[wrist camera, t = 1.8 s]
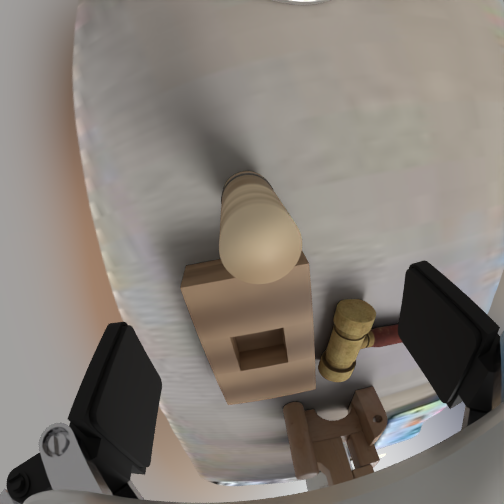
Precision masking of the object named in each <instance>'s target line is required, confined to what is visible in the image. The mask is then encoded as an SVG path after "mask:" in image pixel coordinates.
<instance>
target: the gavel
mask: <svg viewBox="0 0 504 504" xmlns="http://www.w3.org/2000/svg"><path fill="white" fill-rule="evenodd" d="M375 317H376V312H375V310H374V308H373V307H372V306H371V305H370V304H368V303H367V302H365V301H363V300H359V299H345V300H342V301H340V302H339V303H338V304H337V308H336V311H335V315H334V319H333V320H334V327H333V330H332V334H331V337H330V340H329V343H328V346H327V349H326V351H324V352H323V354H322V356H321V359H320V362H319V365H318V369H319V372H320V374H321V375H322V376H323V377H324V378H325V379H327V380H329V381H333V382H343V381H345V380H347V379H348V378H349V377H350V376H351V374H352V372H353V370H354V368H355V365H356V357H357V355H358V353H359V350H360V349H363V348H368V347H382V346H387V345H392V344H397V343H401V342H402V341H401V339H400V338H399V335H398V324H396V325H390V326H384V327H378V328H374V329H372V330H371V328H372V325H373V322H374V320H375Z"/></svg>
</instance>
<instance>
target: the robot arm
mask: <svg viewBox="0 0 504 504" xmlns="http://www.w3.org/2000/svg"><path fill="white" fill-rule="evenodd" d="M273 1H276V2H280V3H287V4H296V5H310V4H320V3H324V2H328V1H331V0H273ZM499 328H500V327H499V326H498V325H497V324H496V323H495V322H494V321H493V320H492V319H491V318H490V317H489V316H488V315H487V314H486V313H485V312H484V311H483V310H482V309H481V308H480V307H479V306H478V305H476V304H475V303H474V302H473V301H472V300H471V299H470V298H469V297H468V296H467V295H466V294H465V293H463V292H462V291H461V290H460V289H459V288H458V287H457V286H456V285H454V284H453V283H452V282H451V281H450V280H449V279H448V278H446V277H445V276H444V275H443V274H442V273H441V272H439V271H438V270H437V269H436V268H435V267H433V266H432V265H431V264H430V263H428V262H427V261H421V262H417V263H414V264H411V265H410V267H409V269H408V270H407V271H406V275H405V283H404V291H403V299H402V306H401V312H400V318H399V324H398V335H399V338H400V339H401V341H402V342H403V344H404V345H405V346H406V348H407V349H408V351H409V352H410V354H411V355H412V357H413V358H414V360H415V361H416V363H417V364H418V366H419V367H420V369H421V370H422V372H423V373H424V375H425V376H426V378H427V379H428V381H429V382H430V384H431V386H432V387H433V389H434V390H435V392H436V394H437V395H438V397H439V398H440V400H441V401H442V402H443V403H447V405H448V407H449V408H450V409H451V408H452V407H454V406H456V405H458V404H459V403H461V402H462V401H463V402H464V403H465V405H466V406H465V412H464V418H463V423H462V429H461V431H459V432H458V433H456V434H454V435H453V436H451V437H449V438H448V439H446V440H444V441H442V442H440V443H439V444H437V445H435V446H433V447H431V448H429V449H427V450H425V451H423V452H421V453H419V454H417V455H415V456H412V457H410V458H408V459H406V460H403V461H401V462H399V463H396V464H394V465H392V466H389V467H387V468H384V469H382V470H379V471H376V472H373V473H371V474H368V475H365V476H362V477H359V478H356V479H353V480H350V481H346V482H343V483H340V484H336V485H332V486H329V487H325V488H321V489H317V490H312V491H308V492H303V493H298V494H293V495H287V496H281V497H275V498H268V499H260V500H251V501H239V502H224V503H178V502H162V501H150V500H144V498H143V497H142V496H141V494H140V493H139V492H138V490H137V489H136V487H135V486H134V485H133V483H132V482H131V480H130V476H131V473H135V474H145V472H146V467H149V465H150V462H151V454H152V446H153V440H154V433H155V426H156V419H157V413H158V407H159V401H160V395H161V389H162V382H161V378H160V376H159V375H158V373H157V371H156V369H155V368H154V366H153V364H152V363H151V361H150V359H149V357H148V355H147V354H146V352H145V350H144V348H143V346H142V344H141V343H140V341H139V339H138V337H137V335H136V333H135V331H134V329H133V328H132V326H130V325H127V323H125V322H118V323H110V324H109V325H108V326H107V328H106V330H105V332H104V334H103V336H102V338H101V340H100V343H99V345H98V347H97V349H96V351H95V353H94V355H93V358H92V360H91V362H90V364H89V367H88V369H87V371H86V374H85V376H84V379H83V381H82V383H81V386H80V388H79V391H78V393H77V396H76V398H75V400H74V403H73V406H72V408H71V411H70V414H69V417H68V419H69V421H70V425H69V426H68V425H66V424H64V423H55V424H53V425H50V426H49V427H48V428H46V429H45V431H44V432H43V433H42V435H41V437H40V440H39V451H40V453H38V454H36V455H35V456H33V457H32V458H30V459H29V460H27V461H26V462H24V463H23V464H21V465H19V466H18V467H16V468H14V469H13V470H12V471H11V472H10V474H9V475H8V478H7V490H8V491H7V490H6V489H4V490H3V491H2V493H1V494H0V504H504V331H503V332H502V334H501V336H499V335H498V334H497V333H498V330H499Z"/></svg>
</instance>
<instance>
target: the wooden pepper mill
mask: <svg viewBox="0 0 504 504" xmlns="http://www.w3.org/2000/svg"><path fill="white" fill-rule="evenodd" d="M221 204H222V207H221V222H220V237H219V254H220V258H221V261H222V263H223V265H224V267H225V268H226V270H227V271H228V272H229V273H230V274H231V275H233V276H234V277H235V278H237V279H239V280H241V281H243V282H246V283H251V284H266V283H271V282H274V281H277V280H279V279H281V278H282V277H284V276H285V275H287V274H288V273H289V272H290V271H291V270H292V269H293V268H294V266H295V265H296V264H297V262H298V260H299V257H300V255H301V251H302V238H301V234H300V231H299V229H298V227H297V225H296V224H295V222H294V221H293V219H292V218H291V216H290V215H289V213H288V212H287V210H286V209H285V207H284V206H283V204H282V203H281V201H280V200H279V198H278V197H277V195H276V194H275V192H274V191H273V188H272V187H271V185H270V184H269V182H268V181H267V180H266V179H265V178H264V177H262V176H261V175H260V174H258V173H255V172H251V171H243V172H239V173H236V174H235V175H233V176H232V177H230V178H229V179H228V181H227V182H226V184H225V186H224V188H223V191H222V197H221Z"/></svg>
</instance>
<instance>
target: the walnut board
mask: <svg viewBox="0 0 504 504" xmlns="http://www.w3.org/2000/svg"><path fill="white" fill-rule="evenodd" d="M180 289H181V291H182V294H183V297H184V300H185V302H186V305H187V308H188V311H189V313H190V316H191V319H192V321H193V324H194V326H195V329H196V331H197V334H198V337H199V339H200V342H201V344H202V346H203V349H204V351H205V354H206V356H207V359H208V361H209V363H210V366H211V368H212V370H213V373H214V375H215V377H216V380H217V382H218V384H219V386H220V389H221V391H222V393H223V395H224V397H225V400H226V402H227V404H228V405H232V404H240V403H247V402H253V401H260V400H266V399H271V398H277V397H282V396H287V395H292V394H296V393H301V392H305V391H310V390H314V389H316V378H315V349H314V328H313V310H312V295H311V282H310V269H309V262H308V261H307V259H306V257H305V255H304V253H303V252H302V251H301V255H300V257H299V260H298V262H297V264H296V265H295V266H294V268H293V269H292V270H291V271H290V272H289V273H288V274H287V275H285V276H284V277H282V278H281V279H279V280H277V281H274V282H271V283H266V284H251V283H246V282H243V281H241V280H239V279H237V278H235V277H234V276H233V275H231V274H230V273H229V272H228V271H227V270H226V268H225V267H224V265H223V263H222V261H221V259H218V260H213V261H208V262H202V263H197V264H192V265H187V266H186V267H185V271H184V275H183V279H182V283H181V287H180Z"/></svg>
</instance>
